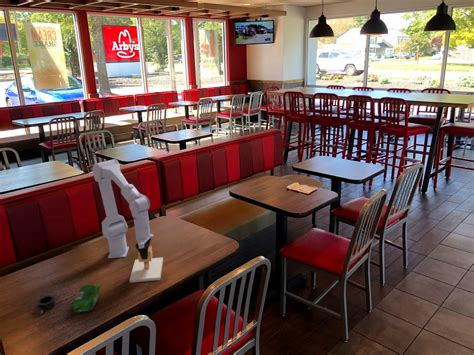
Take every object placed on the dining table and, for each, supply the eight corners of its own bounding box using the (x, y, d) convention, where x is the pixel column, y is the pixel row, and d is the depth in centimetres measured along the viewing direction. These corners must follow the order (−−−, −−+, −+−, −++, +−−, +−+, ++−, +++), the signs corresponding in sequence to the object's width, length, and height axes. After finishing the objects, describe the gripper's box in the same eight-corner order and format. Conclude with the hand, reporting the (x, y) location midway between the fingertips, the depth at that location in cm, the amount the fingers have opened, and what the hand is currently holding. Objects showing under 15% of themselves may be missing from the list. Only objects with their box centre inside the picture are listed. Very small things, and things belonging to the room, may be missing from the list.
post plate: (135, 262, 168) (134, 253, 167) (163, 259, 169) (162, 251, 168) (129, 282, 153) (128, 273, 151) (160, 279, 154) (159, 270, 153)
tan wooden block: (140, 256, 161) (139, 246, 160) (152, 255, 162) (151, 245, 160) (138, 262, 157) (137, 252, 155) (151, 261, 157) (150, 251, 156)
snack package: (71, 319, 133) (68, 306, 131) (84, 292, 147) (82, 280, 146) (92, 317, 133) (90, 304, 132) (103, 291, 148) (101, 279, 146)
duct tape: (28, 310, 138) (26, 303, 137) (55, 296, 146) (53, 289, 145) (39, 318, 134) (37, 311, 133) (65, 303, 141) (64, 296, 140)
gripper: (150, 232, 148) (153, 263, 152) (153, 217, 162) (157, 246, 166) (131, 234, 147) (135, 265, 152) (136, 219, 161) (140, 248, 165)
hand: (145, 255), depth 159 cm, fingers closed on tan wooden block, 5 cm apart
